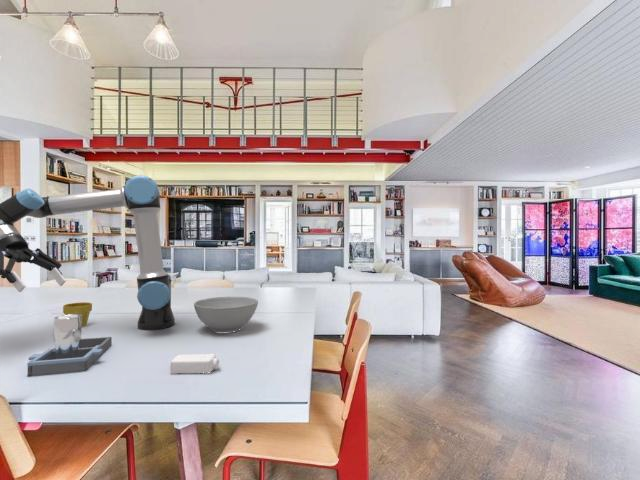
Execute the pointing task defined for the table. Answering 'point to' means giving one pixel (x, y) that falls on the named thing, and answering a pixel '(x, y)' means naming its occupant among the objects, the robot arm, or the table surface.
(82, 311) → the yellow bowl
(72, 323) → the drinking glass
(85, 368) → the open frame
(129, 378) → the table surface
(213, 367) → the white bottle
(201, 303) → the decorative bowl
